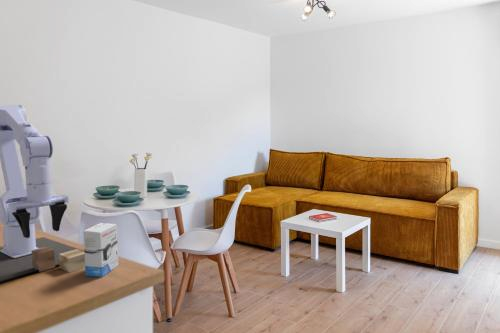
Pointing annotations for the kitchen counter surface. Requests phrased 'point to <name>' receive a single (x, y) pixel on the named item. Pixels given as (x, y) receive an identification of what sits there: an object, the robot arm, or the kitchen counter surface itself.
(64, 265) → the base block
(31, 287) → the kitchen counter surface
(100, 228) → the ink box
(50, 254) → the walnut block
